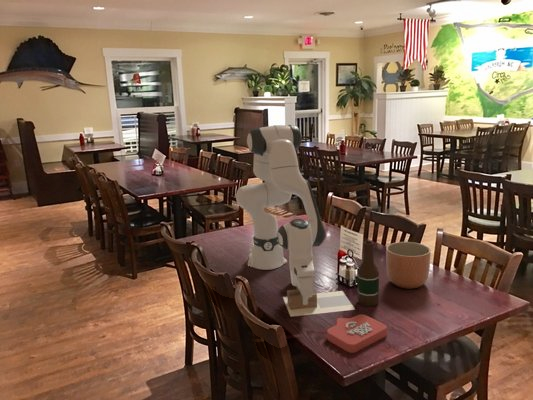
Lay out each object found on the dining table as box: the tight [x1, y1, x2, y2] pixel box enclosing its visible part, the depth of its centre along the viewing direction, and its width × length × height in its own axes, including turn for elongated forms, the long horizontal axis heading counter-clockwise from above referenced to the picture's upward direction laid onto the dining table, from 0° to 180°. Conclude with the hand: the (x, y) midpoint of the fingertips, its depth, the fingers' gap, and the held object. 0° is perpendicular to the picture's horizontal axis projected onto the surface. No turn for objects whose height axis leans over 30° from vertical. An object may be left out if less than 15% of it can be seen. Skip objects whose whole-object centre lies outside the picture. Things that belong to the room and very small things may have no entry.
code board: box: [282, 290, 356, 317], centre depth 171 cm, size 16×24×1 cm, turn 98°
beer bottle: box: [357, 240, 380, 307], centre depth 168 cm, size 8×8×24 cm
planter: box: [385, 241, 432, 290], centre depth 184 cm, size 17×17×15 cm
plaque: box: [326, 314, 388, 354], centre depth 149 cm, size 18×4×15 cm
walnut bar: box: [286, 288, 317, 310], centre depth 169 cm, size 6×10×5 cm, turn 98°
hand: (302, 298), depth 169 cm, fingers open, 8 cm apart
